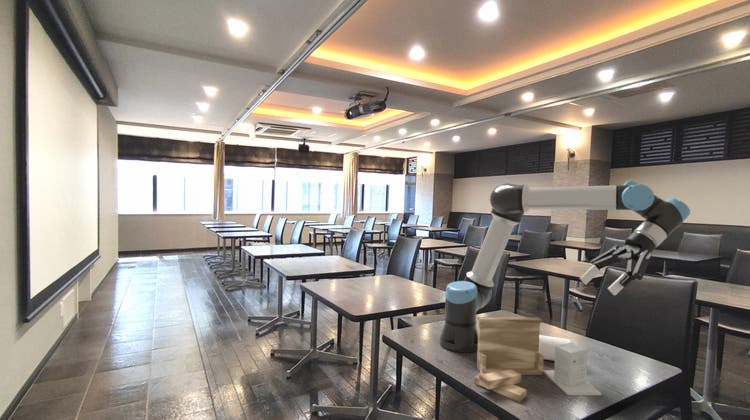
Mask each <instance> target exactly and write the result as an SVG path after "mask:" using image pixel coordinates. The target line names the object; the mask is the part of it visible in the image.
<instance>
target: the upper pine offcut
mask: <svg viewBox="0 0 750 420" xmlns="http://www.w3.org/2000/svg"><path fill="white" fill-rule="evenodd" d="M479 383H480V384H481V385H482V386H484V387H483V388H484V389H487V390H489V389H493V388H498V387H503V386H508V385H517V384H521V383H522V375H521V374H519V373H517V372H516V371H514V370H512V369H508V370H503V371H497V372H492V373H487V374H481V375H479ZM482 386H481V387H482Z"/></svg>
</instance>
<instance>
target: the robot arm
mask: <svg viewBox="0 0 750 420" xmlns="http://www.w3.org/2000/svg"><path fill="white" fill-rule="evenodd" d="M489 202H490V205H491V207H492V208H491V211H490V214H491V216H492V220H491V222H490V224H489V227H488V230H487V232H486V234H485V236H484V239H483V241H482V244H481V245H480V246H481V247H480V249H479V252H478V254H477V257H476V258H475V261H474V264H473V267H472V269H471V270H470V271H467V272H466V274H465V277H464V279H463V280H458V281H453V282H450V283H448V284H447V286H446V289H445V295H444V296H445V309H444V310H445V312H444V324H443V327H442V329H441V332H440V336H439V344H440V346H442V347H443V348H445V349H446V350H448V351H452V352H458V353H474V352H476V351H478V328H477V312H478V311H479V310H481V309H482V308H484V307H486V306H487V305H488V304H489V303H490V301H491V299H492V296H493V292H492V291H493V288H494V286H495V283H494V281H493V278H494V275H495V273H496V270H497V268H498V266H499V264H500V261H501V258H502V257H503V254H504V251H505V249H506V247H507V245H508V242H509V240H510V237H511V234H512V232H513V230H514V229H515V228H514V227H515V226H517V225H519V224H521V222H522V220H523V217H524V215H525V213H528V212H529V211H530V210H535V211H536V210H537V211H538V210H539V211H540V210H543V211H545V210H546V211H547V210H549V211H550V210H555V211H556V210H557V211H559V210H565V211H566V210H567V211H569V210H570V211H571V210H573V211H574V210H575V211H578V210H579V211H581V210H582V211H583V210H584V211H588V210H589V211H590V210H591V211H593V210H596V211H597V210H598V211H600V210H601V211H603V210H604V211H613V210H614V211H633V212H634V213H636V214H638V215H639V216H640V217H642V218H643V219H644V221H643V222H642V223H640V225H638V226H637V227H636V228H635V229H634V231H633V232H632V233H630V234H629V235H628V236H627V237H626V238H625V239H624V243H625V244H624V245H623V246H622V247H620V246H619V245H618V244H615V245H614V246H613V247H611V248H610V249H609V250H607V251H605V252H603V253H602V254H599V255H598V256H597V257H595V258H593V259H591V260H590V264H591V266H590V267H589V268H588V269H587V270H586V271H585V272H584V273H583V274H582V275H581V276H580V277H579V280H580V281H581V282H582V283H583V284H584V285H587V284H589V283H590V282H591V281H592V280H593V278H595V277H596V275H598V274H599V272H601V270H602V269H603V268H607V267H609V266H611V265H614V264H616V263H627V265H626V271H624V272H623V273H622V274H621V275H619V277H618V278H617V279H615V281H614V282H613V283H611V284H610V285H609V286H608V287H607V290H608V291H609V292H610V293H611V294H612V295H613V296H616V295H618V294H619V293H620V291H622V290H623V289H624V288H625V287H627V286H628V284H630V283H631V282H632V281H635V280H638V281H641V280H642V279H643V278H644V275H645V273H646V270H647V268H648V265H649V263H650V261H651V260H652V259H653V258H654V256H653V255H652V253H653V252H654V250H656V249H657V247H659V245H661V244H662V243H663V242H664V241H665V240H666V239H667V238H668V237H669V236H670V235H671V234H673V232H674V231H675V230H677V229H678V228H679V227H680V226H681V225H682V224H683V223H684V222H685V220H686V219H687V218H689V216H690V215H691V209H690V207H689V206H688V204H686V203H685V202H683V201H682V200H678V199H676V198H667V199H666V200H664V199H662V198H660V197H659V196H657V195H656V194H654V191H653V190H652V188H650V186H648V185H646V184H642V183H639V182H638V183H637V182H636V181H634V180H632V179H629V180H627V181H626V182H625V183H624V184H623V185H621V184H620V185H616V184H615V185H613V184H612V185H590V186H589V185H578V186H576V185H575V186H552V187H551V186H546V187H545V186H544V187H543V186H541V187H537V186H536V187H531V186H529V185H527V184H515V183H514V184H513V183H500V184H499V185H497V186H496V187H494V189H493V190H491V194H490V196H489Z"/></svg>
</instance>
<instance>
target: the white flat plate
mask: <svg viewBox="0 0 750 420" xmlns="http://www.w3.org/2000/svg"><path fill="white" fill-rule="evenodd" d="M543 374H545V376H547V377H548V378H549V379H550V380H551V381H552V382H553V384H555V385H556V386H557V387H559V389H561V391H563V393H565V394H566V395H567V396H602V392H600V391H599V390H598V389H597V388H596V387H594V386H593V385H592V384H590V383H589V382H588V381H587V380H586V382H584V383H581V384H577V385H574V386H571V387H569V386H567V385H565V384H563V383H561V382H559V381H557V380H555V379H554V369H550V370H549V369H543Z"/></svg>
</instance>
